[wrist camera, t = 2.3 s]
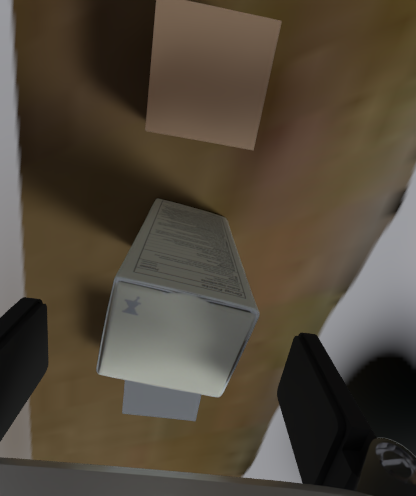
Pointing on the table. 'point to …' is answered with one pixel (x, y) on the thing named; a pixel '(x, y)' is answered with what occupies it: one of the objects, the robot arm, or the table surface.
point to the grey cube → (159, 401)
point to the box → (178, 304)
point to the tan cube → (209, 72)
